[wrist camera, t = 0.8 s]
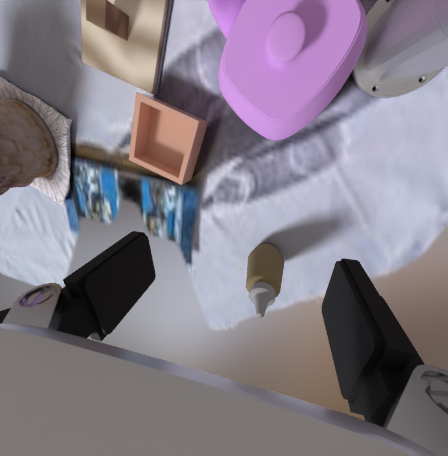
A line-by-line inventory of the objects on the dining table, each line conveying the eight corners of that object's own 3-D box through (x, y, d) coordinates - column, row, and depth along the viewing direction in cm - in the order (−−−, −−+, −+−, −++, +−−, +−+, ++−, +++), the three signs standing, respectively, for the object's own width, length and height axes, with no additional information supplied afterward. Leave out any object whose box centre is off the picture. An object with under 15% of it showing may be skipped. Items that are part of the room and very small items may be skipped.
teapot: (397, 25, 26) (514, -75, 13) (280, 153, 37) (281, 167, 24) (274, -117, 24) (267, -418, 11) (186, 64, 34) (128, 25, 21)
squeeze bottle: (254, 234, 46) (241, 289, 30) (288, 244, 44) (293, 306, 29) (246, 261, 50) (231, 321, 34) (278, 270, 48) (277, 337, 33)
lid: (84, -56, 30) (45, -93, 25) (171, -19, 29) (149, -49, 24) (85, 62, 38) (55, 53, 33) (154, 94, 37) (134, 89, 32)
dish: (152, 96, 38) (136, 92, 33) (208, 121, 37) (198, 121, 33) (143, 156, 44) (128, 159, 39) (191, 179, 43) (181, 184, 39)
